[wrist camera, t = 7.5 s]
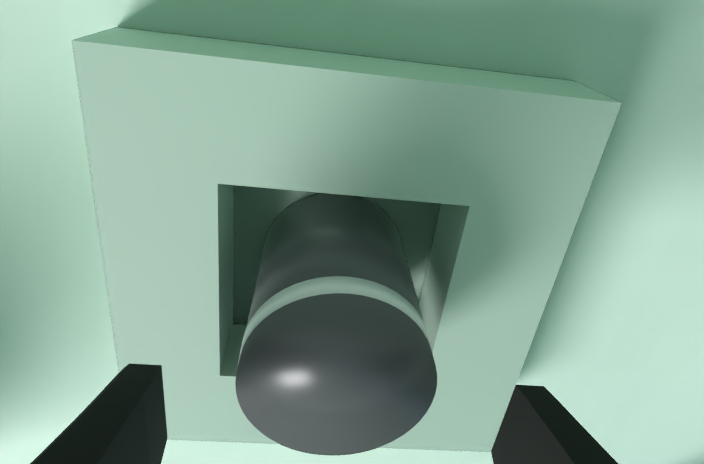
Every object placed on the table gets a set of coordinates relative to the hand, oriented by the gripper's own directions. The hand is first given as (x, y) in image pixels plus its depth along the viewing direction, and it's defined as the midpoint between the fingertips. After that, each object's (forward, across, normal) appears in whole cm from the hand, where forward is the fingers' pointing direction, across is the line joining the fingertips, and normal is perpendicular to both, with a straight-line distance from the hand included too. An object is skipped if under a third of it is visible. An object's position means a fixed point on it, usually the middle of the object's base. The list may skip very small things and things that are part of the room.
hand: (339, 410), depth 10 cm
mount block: (+6, 0, 0) cm, 6 cm away
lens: (+6, 0, 0) cm, 6 cm away
